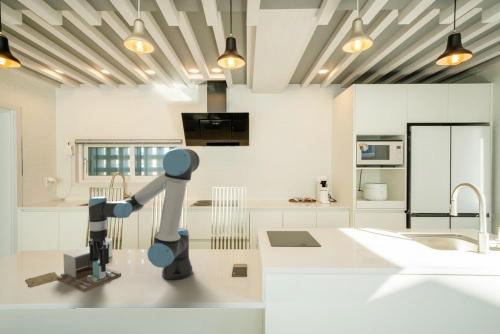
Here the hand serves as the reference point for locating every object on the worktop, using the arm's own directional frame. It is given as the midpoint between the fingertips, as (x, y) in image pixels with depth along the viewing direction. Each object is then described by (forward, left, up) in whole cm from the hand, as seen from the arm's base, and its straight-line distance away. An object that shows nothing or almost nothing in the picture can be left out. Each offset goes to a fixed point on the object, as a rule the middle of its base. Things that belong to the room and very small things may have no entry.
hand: (99, 276), depth 129 cm
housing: (+15, 0, -1) cm, 15 cm away
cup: (+30, -19, -2) cm, 35 cm away
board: (+9, 0, -2) cm, 9 cm away
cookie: (+26, +13, -3) cm, 29 cm away
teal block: (0, 0, 0) cm, 0 cm away
